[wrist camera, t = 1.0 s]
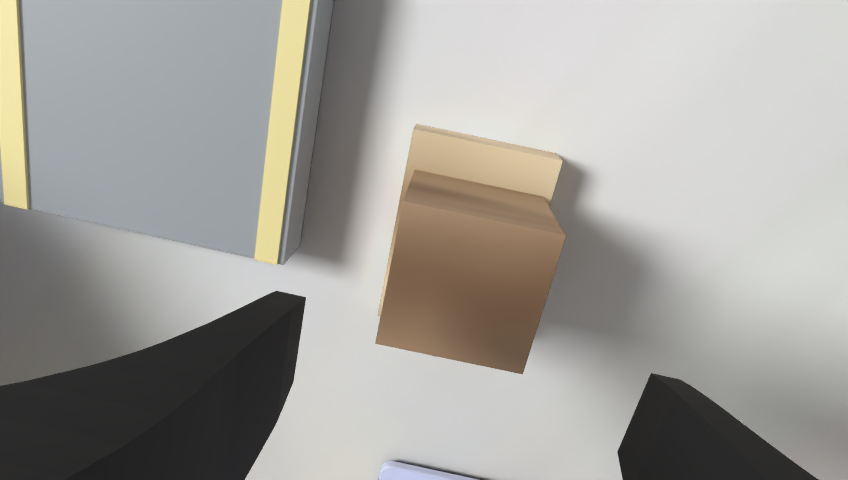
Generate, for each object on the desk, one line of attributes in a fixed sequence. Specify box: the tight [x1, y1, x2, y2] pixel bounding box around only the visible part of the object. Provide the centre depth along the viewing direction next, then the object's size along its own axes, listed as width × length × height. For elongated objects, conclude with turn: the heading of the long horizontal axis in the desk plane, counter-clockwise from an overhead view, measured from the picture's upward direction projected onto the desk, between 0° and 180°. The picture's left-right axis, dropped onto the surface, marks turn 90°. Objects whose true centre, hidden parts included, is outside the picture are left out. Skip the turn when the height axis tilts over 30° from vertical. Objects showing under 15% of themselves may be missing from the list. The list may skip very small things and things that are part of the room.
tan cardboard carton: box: [375, 124, 566, 374], centre depth 17 cm, size 7×5×6 cm
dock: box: [0, 0, 334, 265], centre depth 17 cm, size 10×10×2 cm
